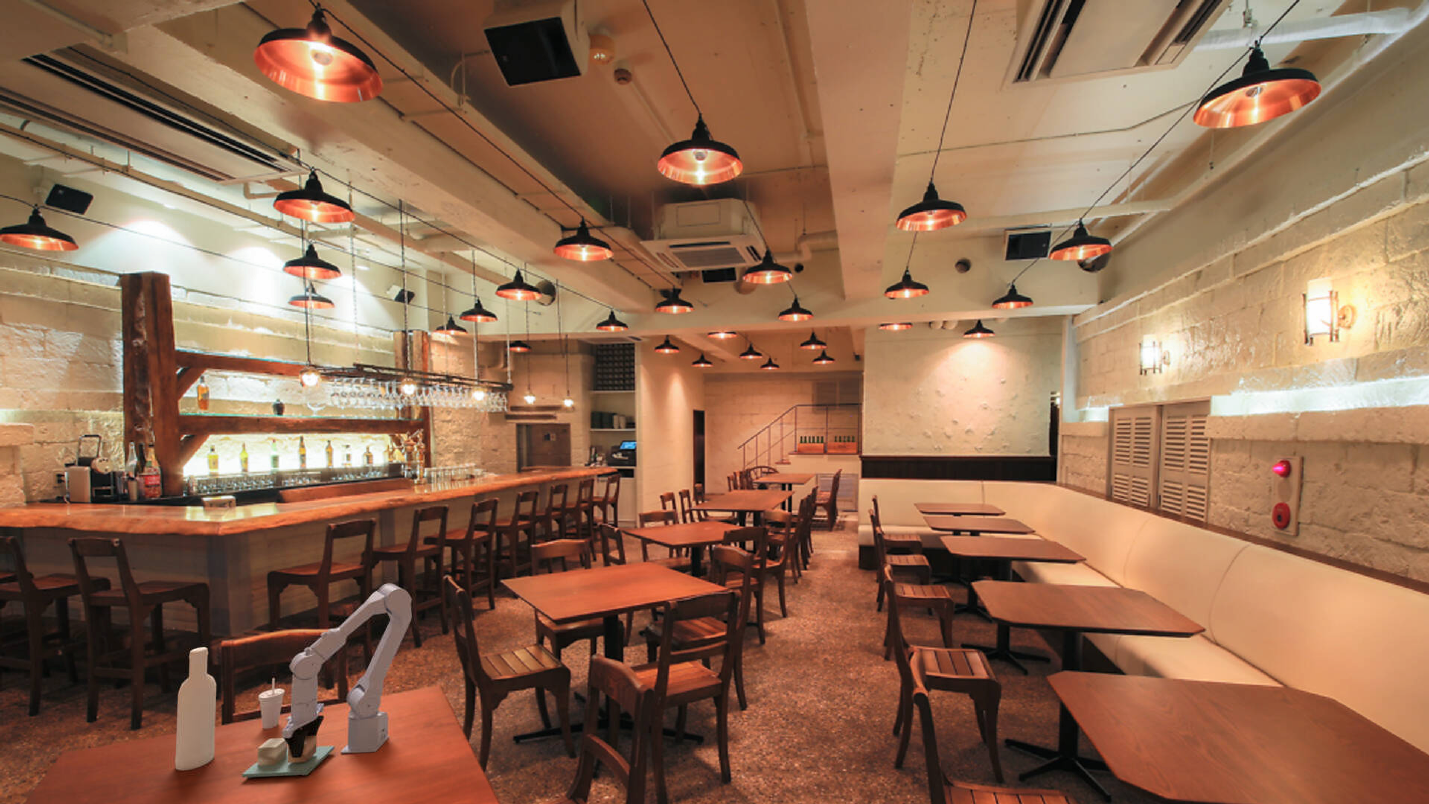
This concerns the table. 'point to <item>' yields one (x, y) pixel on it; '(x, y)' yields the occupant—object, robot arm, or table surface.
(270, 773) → the teal board
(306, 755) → the brown block
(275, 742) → the cream block
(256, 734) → the table surface
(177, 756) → the bottle
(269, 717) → the smoothie
